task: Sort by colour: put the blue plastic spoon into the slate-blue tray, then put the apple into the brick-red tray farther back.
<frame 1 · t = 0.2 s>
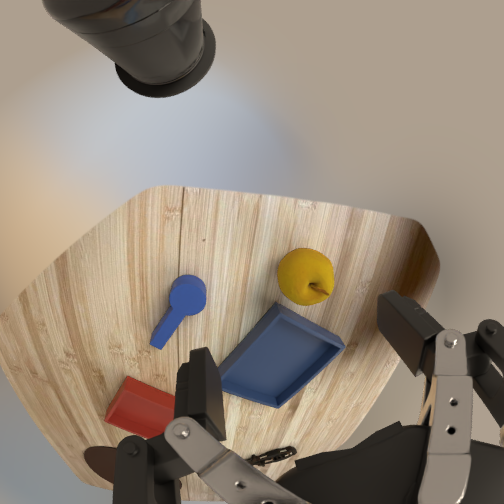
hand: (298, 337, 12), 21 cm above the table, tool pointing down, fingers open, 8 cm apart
red tray: (154, 410, 43), on the table
knife: (247, 461, 55), on the table
apple: (295, 261, 35), on the table
blue tray: (275, 357, 41), on the table
spoon: (175, 309, 35), on the table
plate: (132, 468, 53), on the table
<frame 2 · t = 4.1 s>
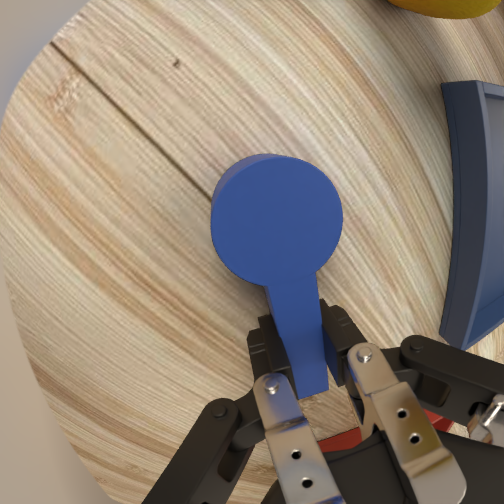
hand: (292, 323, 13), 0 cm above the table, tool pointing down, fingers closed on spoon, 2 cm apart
red tray: (380, 442, 22), on the table
spoon: (283, 283, 12), on the table, touching gripper
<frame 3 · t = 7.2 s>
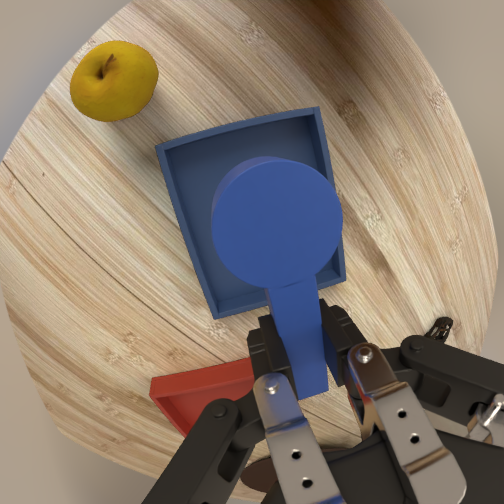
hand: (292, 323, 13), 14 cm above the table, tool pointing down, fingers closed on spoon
red tray: (224, 397, 34), on the table
knife: (406, 375, 39), on the table
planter: (433, 405, 48), on the table
apple: (130, 90, 19), on the table
blue tray: (258, 211, 25), on the table
spoon: (283, 285, 13), point 13 cm above the table, touching gripper
plate: (301, 467, 48), on the table
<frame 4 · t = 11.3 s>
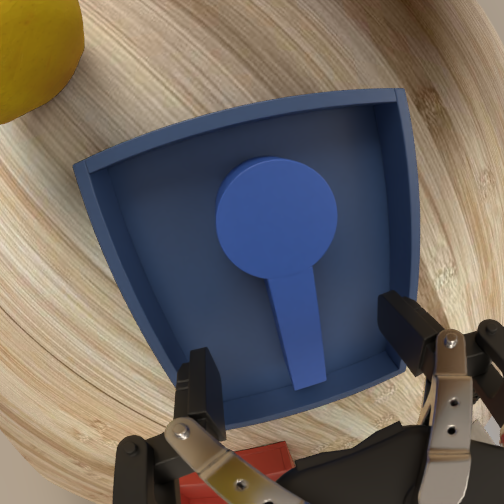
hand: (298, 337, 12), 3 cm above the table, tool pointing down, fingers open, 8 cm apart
red tray: (225, 477, 23), on the table
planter: (453, 443, 37), on the table
apple: (54, 65, 8), on the table
blue tray: (280, 279, 14), on the table
spoon: (283, 277, 13), point 1 cm above the table, touching blue tray
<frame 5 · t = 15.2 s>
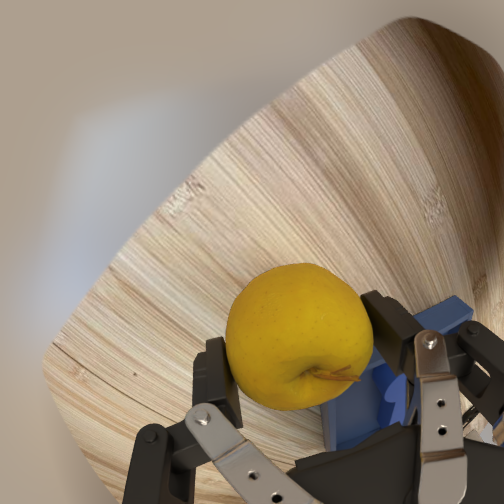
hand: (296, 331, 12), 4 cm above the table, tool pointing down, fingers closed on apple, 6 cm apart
knife: (443, 438, 36), on the table
apple: (277, 289, 16), on the table, touching gripper
blue tray: (386, 386, 21), on the table
spoon: (390, 388, 21), point 1 cm above the table, touching blue tray
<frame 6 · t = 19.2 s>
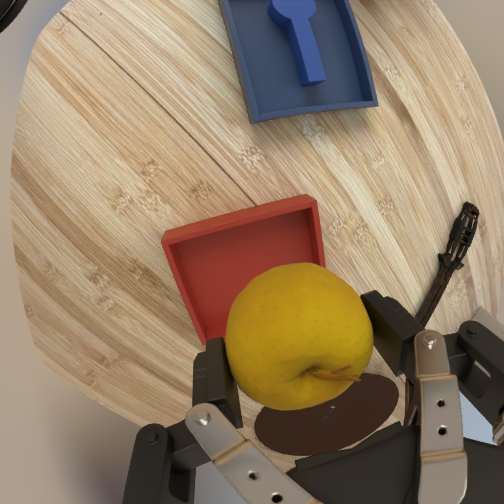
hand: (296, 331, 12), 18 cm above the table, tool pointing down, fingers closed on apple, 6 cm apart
red tray: (250, 267, 31), on the table
knife: (441, 276, 37), on the table
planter: (462, 340, 46), on the table
apple: (277, 288, 16), point 14 cm above the table, touching gripper
blue tray: (295, 43, 22), on the table
spoon: (296, 38, 22), point 1 cm above the table, touching blue tray
plate: (326, 413, 46), on the table
when the fingers open (4 cm above the table, at t = 23.3 s): apple stays where it is, resting on red tray.
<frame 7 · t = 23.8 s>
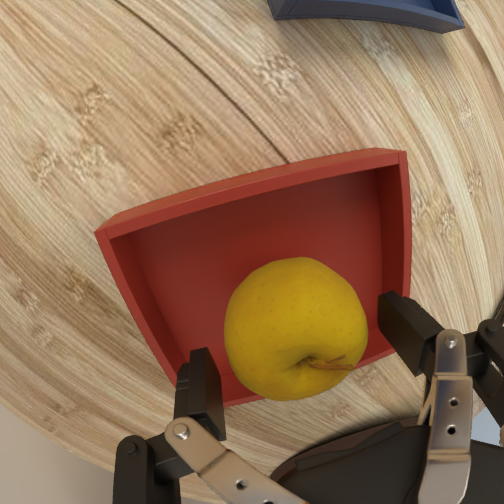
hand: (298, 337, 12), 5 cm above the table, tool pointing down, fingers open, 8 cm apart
red tray: (275, 282, 17), on the table
apple: (275, 283, 16), resting on red tray
plate: (359, 457, 31), on the table
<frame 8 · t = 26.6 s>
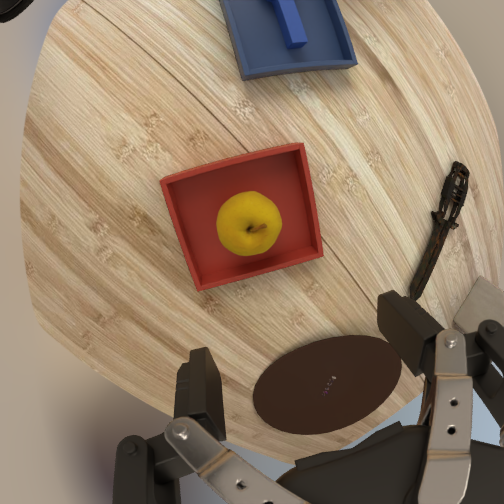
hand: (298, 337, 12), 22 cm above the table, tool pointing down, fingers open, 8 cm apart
red tray: (244, 212, 32), on the table
knife: (436, 236, 38), on the table
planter: (464, 311, 46), on the table
apple: (244, 212, 32), resting on red tray
blue tray: (281, 15, 23), on the table
spoon: (282, 11, 23), point 1 cm above the table, touching blue tray
plate: (327, 385, 46), on the table
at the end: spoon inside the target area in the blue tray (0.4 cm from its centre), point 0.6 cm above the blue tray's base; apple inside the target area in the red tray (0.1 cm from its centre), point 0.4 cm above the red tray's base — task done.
